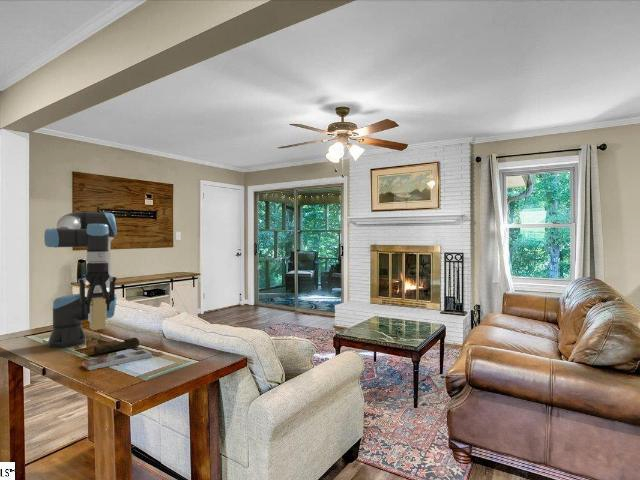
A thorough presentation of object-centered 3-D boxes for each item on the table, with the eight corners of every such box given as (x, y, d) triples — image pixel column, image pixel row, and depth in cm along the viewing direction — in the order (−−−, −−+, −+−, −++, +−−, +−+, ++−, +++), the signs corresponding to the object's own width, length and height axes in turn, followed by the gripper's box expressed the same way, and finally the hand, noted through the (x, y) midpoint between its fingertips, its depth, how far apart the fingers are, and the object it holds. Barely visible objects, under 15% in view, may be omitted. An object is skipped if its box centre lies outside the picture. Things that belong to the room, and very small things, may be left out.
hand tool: (95, 356, 162) (95, 346, 162) (93, 354, 165) (93, 344, 165) (141, 347, 175) (141, 338, 175) (138, 346, 178) (138, 336, 178)
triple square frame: (82, 365, 149) (82, 361, 149) (144, 352, 167) (144, 348, 167) (88, 370, 144) (88, 366, 144) (151, 356, 161) (151, 352, 161)
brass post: (89, 328, 149) (89, 298, 149) (101, 326, 153) (101, 297, 153) (93, 330, 146) (93, 299, 146) (105, 328, 149) (105, 298, 150)
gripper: (74, 263, 141) (74, 325, 141) (124, 261, 153) (124, 318, 153) (69, 262, 146) (69, 322, 146) (117, 261, 158) (117, 315, 158)
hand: (97, 320), depth 149 cm, fingers closed on brass post, 4 cm apart
